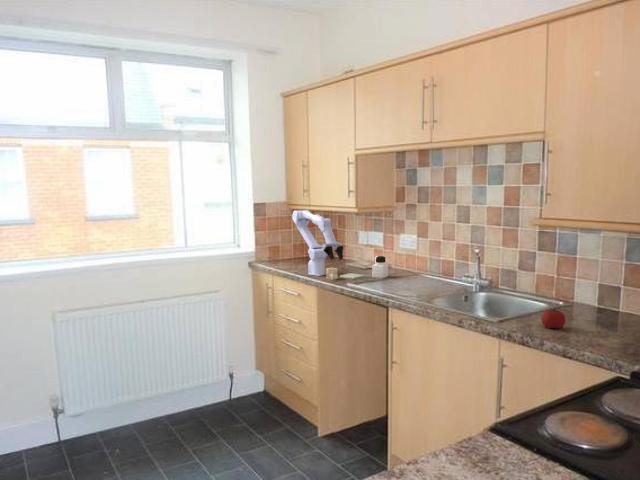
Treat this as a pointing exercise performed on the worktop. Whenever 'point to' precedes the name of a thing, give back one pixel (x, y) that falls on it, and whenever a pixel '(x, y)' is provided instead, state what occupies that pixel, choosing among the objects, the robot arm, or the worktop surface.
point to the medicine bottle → (380, 267)
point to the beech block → (331, 273)
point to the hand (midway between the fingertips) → (337, 259)
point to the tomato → (553, 319)
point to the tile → (351, 276)
